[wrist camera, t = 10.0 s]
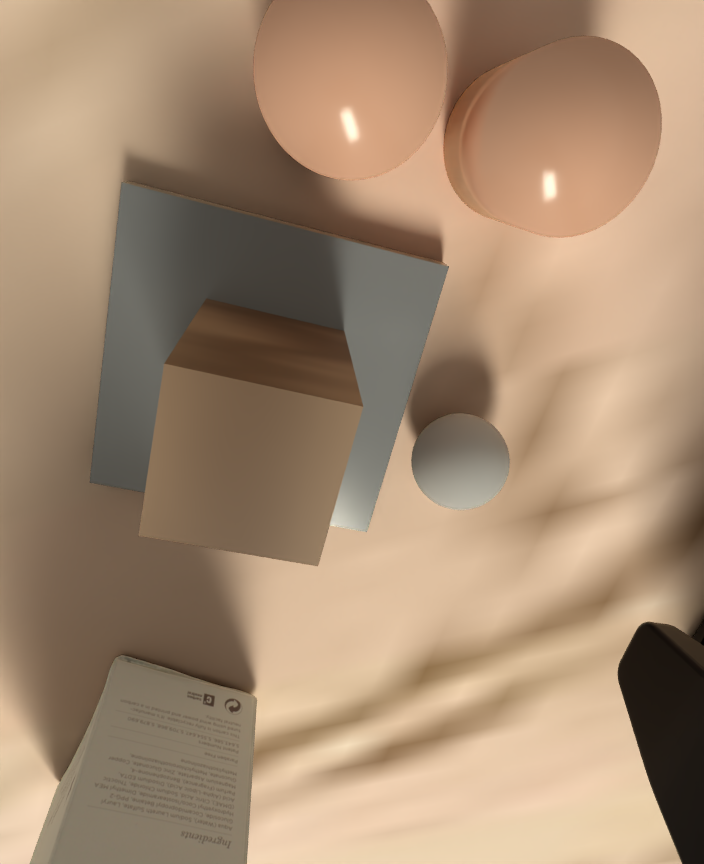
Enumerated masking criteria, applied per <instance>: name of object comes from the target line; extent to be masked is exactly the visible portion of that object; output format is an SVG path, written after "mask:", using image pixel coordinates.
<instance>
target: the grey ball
mask: <svg viewBox="0 0 704 864" xmlns="http://www.w3.org/2000/svg"><path fill="white" fill-rule="evenodd" d="M411 461H412V470H413V475H414V478H415V480H416V482H417V484H418V486H419V488H420V489H421V491H422V492H423V493H424V494H425V495H426V496H427V497H428V498H429V499H430V500H432V501H433V502H435V503H436V504H438V505H440V506H443V507H445V508H449V509H454V510H468V509H473V508H476V507H479V506H481V505H484V504H485V503H487V502H489V501H490V500H491V499H493V498H494V497H495V496H496V495H497V494H498V493H499V491H500V490H501V489H502V487H503V485H504V483H505V481H506V479H507V476H508V472H509V463H510V459H509V452H508V448H507V445H506V443H505V440H504V439H503V437H502V435H501V434H500V432H499V431H498V430H497V429H496V428H495V427H494V426H493V425H492V424H490V423H489V422H488V421H486V420H484V419H483V418H480V417H478V416H475V415H471V414H465V413H455V414H449V415H445V416H443V417H440V418H438V419H436V420H434V421H433V422H431V423H430V424H429V425H428V426H426V428H425V429H424V430H423V431H422V432H421V433H420V435H419V436H418V438H417V440H416V442H415V445H414V447H413V452H412V460H411Z"/></svg>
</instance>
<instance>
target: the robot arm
mask: <svg viewBox="0 0 704 864" xmlns="http://www.w3.org/2000/svg"><path fill="white" fill-rule="evenodd" d="M618 681H619V685H620V688H621V691H622V695H623V698H624V701H625V705H626V708H627V711H628V714H629V718H630V721H631V724H632V727H633V731H634V734H635V737H636V740H637V744H638V747H639V750H640V754H641V757H642V760H643V763H644V767H645V770H646V773H647V776H648V779H649V782H650V785H651V787H652V790H653V793H654V795H655V798H656V801H657V803H658V806H659V808H660V811H661V813H662V815H663V818H664V820H665V823H666V825H667V828H668V830H669V833H670V835H671V838H672V840H673V842H674V845H675V847H676V850H677V852H678V855H679V857H680V860H681V862H682V864H704V620H703V622H702V624H701V626H700V627H699V629H698V631H697V632H696V634H695V636H694V637H693V638H691V637H690V636H688V635H687V634H685V633H684V632H682V631H681V630H679V629H677V628H676V627H674V626H671V625H668V624H661V623H654V622H645V623H643V624H641V625H640V626H639V627H638V628H637V630H636V632H635V634H634V636H633V638H632V640H631V642H630V643H629V645H628V647H627V649H626V651H625V653H624V655H623V657H622V659H621V661H620V663H619V667H618Z"/></svg>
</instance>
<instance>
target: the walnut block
mask: <svg viewBox="0 0 704 864" xmlns="http://www.w3.org/2000/svg"><path fill="white" fill-rule="evenodd" d="M362 410H363V403H362V399H361V395H360V391H359V387H358V383H357V379H356V375H355V371H354V367H353V363H352V359H351V355H350V351H349V348H348V344H347V340H346V336H345V332H344V331H342V330H338V329H334V328H329V327H325V326H321V325H317V324H312V323H308V322H304V321H300V320H296V319H291V318H287V317H283V316H279V315H274V314H270V313H266V312H262V311H258V310H253V309H249V308H245V307H241V306H236V305H232V304H228V303H224V302H219V301H215V300H211V299H207V298H206V300H205V301H204V303H203V304H202V306H201V307H200V309H199V310H198V312H197V314H196V315H195V317H194V318H193V320H192V321H191V323H190V324H189V326H188V327H187V329H186V331H185V332H184V334H183V335H182V337H181V338H180V340H179V341H178V343H177V344H176V346H175V348H174V349H173V351H172V352H171V354H170V355H169V357H168V358H167V360H166V362H165V363H164V368H163V374H162V381H161V388H160V394H159V401H158V408H157V414H156V421H155V428H154V434H153V441H152V448H151V454H150V461H149V468H148V474H147V481H146V488H145V494H144V501H143V508H142V514H141V521H140V528H139V534H138V536H143V537H149V538H155V539H160V540H166V541H172V542H178V543H184V544H190V545H196V546H202V547H208V548H213V549H219V550H225V551H231V552H237V553H243V554H249V555H255V556H261V557H267V558H272V559H278V560H284V561H290V562H296V563H302V564H308V565H314V566H318V564H319V561H320V557H321V554H322V550H323V547H324V543H325V540H326V536H327V533H328V529H329V526H330V522H331V519H332V515H333V512H334V508H335V505H336V501H337V498H338V494H339V491H340V487H341V484H342V480H343V477H344V473H345V470H346V466H347V463H348V459H349V455H350V452H351V448H352V445H353V441H354V438H355V434H356V431H357V427H358V424H359V420H360V417H361V413H362Z"/></svg>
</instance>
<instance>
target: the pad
mask: <svg viewBox="0 0 704 864" xmlns="http://www.w3.org/2000/svg"><path fill="white" fill-rule="evenodd" d="M448 268H449V266H447V265H446V264H445V263H443V262H440V261H436V260H432V259H429V258H425V257H421V256H417V255H413V254H409V253H405V252H402V251H398V250H394V249H390V248H386V247H382V246H378V245H375V244H371V243H367V242H363V241H359V240H355V239H351V238H347V237H344V236H340V235H336V234H332V233H328V232H324V231H320V230H317V229H313V228H309V227H305V226H301V225H297V224H293V223H290V222H286V221H282V220H278V219H274V218H270V217H266V216H263V215H259V214H255V213H251V212H247V211H243V210H239V209H235V208H232V207H228V206H224V205H220V204H216V203H212V202H208V201H205V200H201V199H197V198H193V197H189V196H185V195H181V194H178V193H174V192H170V191H166V190H162V189H158V188H154V187H150V186H147V185H143V184H139V183H135V182H131V181H126V182H122V184H121V194H120V203H119V212H118V222H117V231H116V241H115V250H114V259H113V269H112V278H111V287H110V297H109V306H108V316H107V325H106V334H105V344H104V353H103V363H102V372H101V381H100V391H99V400H98V409H97V419H96V428H95V438H94V447H93V456H92V466H91V475H90V483H94V484H100V485H106V486H111V487H117V488H123V489H128V490H134V491H139V492H145V488H146V481H147V474H148V468H149V461H150V454H151V448H152V441H153V434H154V428H155V421H156V414H157V408H158V401H159V394H160V388H161V381H162V374H163V368H164V363H165V362H166V360H167V358H168V357H169V355H170V354H171V352H172V351H173V349H174V348H175V346H176V344H177V343H178V341H179V340H180V338H181V337H182V335H183V334H184V332H185V331H186V329H187V327H188V326H189V324H190V323H191V321H192V320H193V318H194V317H195V315H196V314H197V312H198V310H199V309H200V307H201V306H202V304H203V303H204V301H205V300H206V298H207V299H211V300H215V301H219V302H224V303H228V304H232V305H236V306H241V307H245V308H249V309H253V310H258V311H262V312H266V313H270V314H274V315H279V316H283V317H287V318H291V319H296V320H300V321H304V322H308V323H312V324H317V325H321V326H325V327H329V328H334V329H338V330H342V331H344V332H345V336H346V340H347V344H348V348H349V351H350V355H351V359H352V363H353V367H354V371H355V375H356V379H357V383H358V387H359V391H360V395H361V399H362V403H363V410H362V413H361V417H360V420H359V424H358V427H357V431H356V434H355V438H354V441H353V445H352V448H351V452H350V455H349V459H348V463H347V466H346V470H345V473H344V477H343V480H342V484H341V487H340V491H339V494H338V498H337V501H336V505H335V508H334V512H333V515H332V519H331V522H330V526H336V527H341V528H347V529H352V530H358V531H364V532H367V530H368V527H369V524H370V520H371V517H372V514H373V511H374V507H375V504H376V501H377V498H378V494H379V491H380V488H381V485H382V482H383V478H384V475H385V472H386V469H387V465H388V462H389V459H390V456H391V452H392V449H393V446H394V443H395V439H396V436H397V433H398V430H399V426H400V423H401V420H402V417H403V414H404V410H405V407H406V404H407V401H408V397H409V394H410V391H411V388H412V384H413V381H414V378H415V375H416V371H417V368H418V365H419V362H420V359H421V355H422V352H423V349H424V346H425V342H426V339H427V336H428V333H429V329H430V326H431V323H432V320H433V316H434V313H435V310H436V307H437V304H438V300H439V297H440V294H441V291H442V287H443V284H444V281H445V278H446V274H447V271H448Z"/></svg>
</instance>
